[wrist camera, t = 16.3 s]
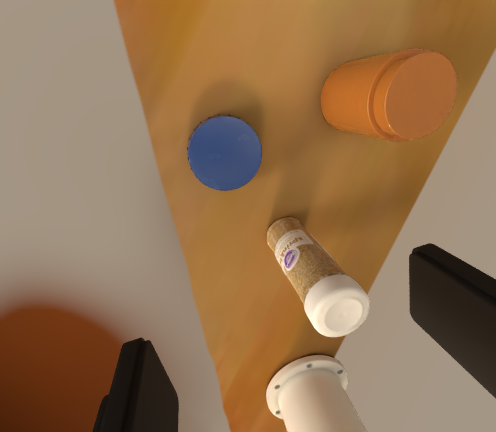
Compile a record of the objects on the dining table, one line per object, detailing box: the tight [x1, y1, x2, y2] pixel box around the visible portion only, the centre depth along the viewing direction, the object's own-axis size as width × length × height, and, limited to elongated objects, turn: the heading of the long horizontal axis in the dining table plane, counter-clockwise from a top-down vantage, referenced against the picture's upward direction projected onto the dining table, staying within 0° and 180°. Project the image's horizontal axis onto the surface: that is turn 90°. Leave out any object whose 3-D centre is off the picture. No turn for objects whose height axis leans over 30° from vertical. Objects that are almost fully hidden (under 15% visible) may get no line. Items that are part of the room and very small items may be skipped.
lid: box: [187, 115, 262, 191], centre depth 27 cm, size 7×7×2 cm
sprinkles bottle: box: [267, 217, 370, 337], centre depth 27 cm, size 5×5×13 cm
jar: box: [321, 48, 457, 142], centre depth 24 cm, size 6×6×9 cm
